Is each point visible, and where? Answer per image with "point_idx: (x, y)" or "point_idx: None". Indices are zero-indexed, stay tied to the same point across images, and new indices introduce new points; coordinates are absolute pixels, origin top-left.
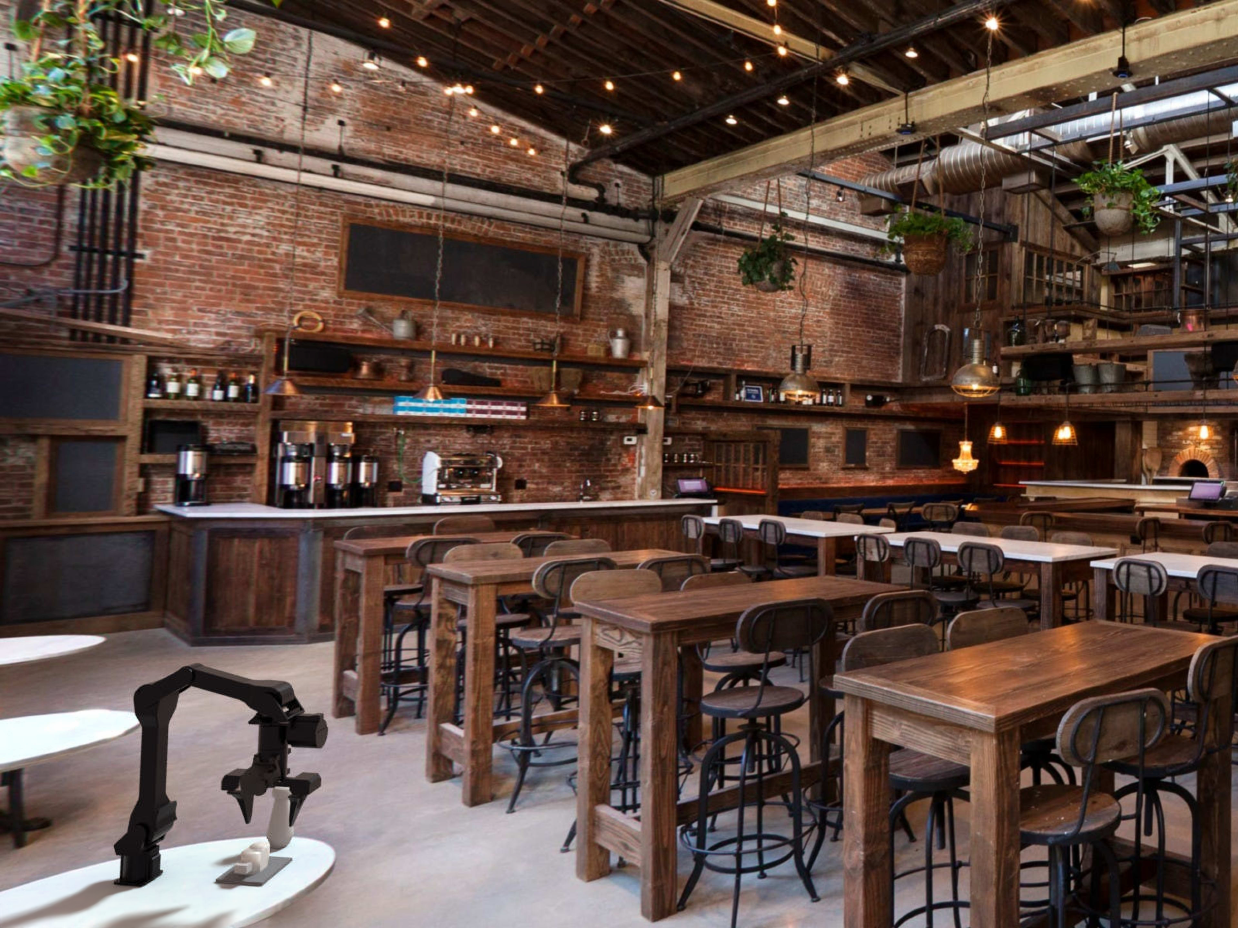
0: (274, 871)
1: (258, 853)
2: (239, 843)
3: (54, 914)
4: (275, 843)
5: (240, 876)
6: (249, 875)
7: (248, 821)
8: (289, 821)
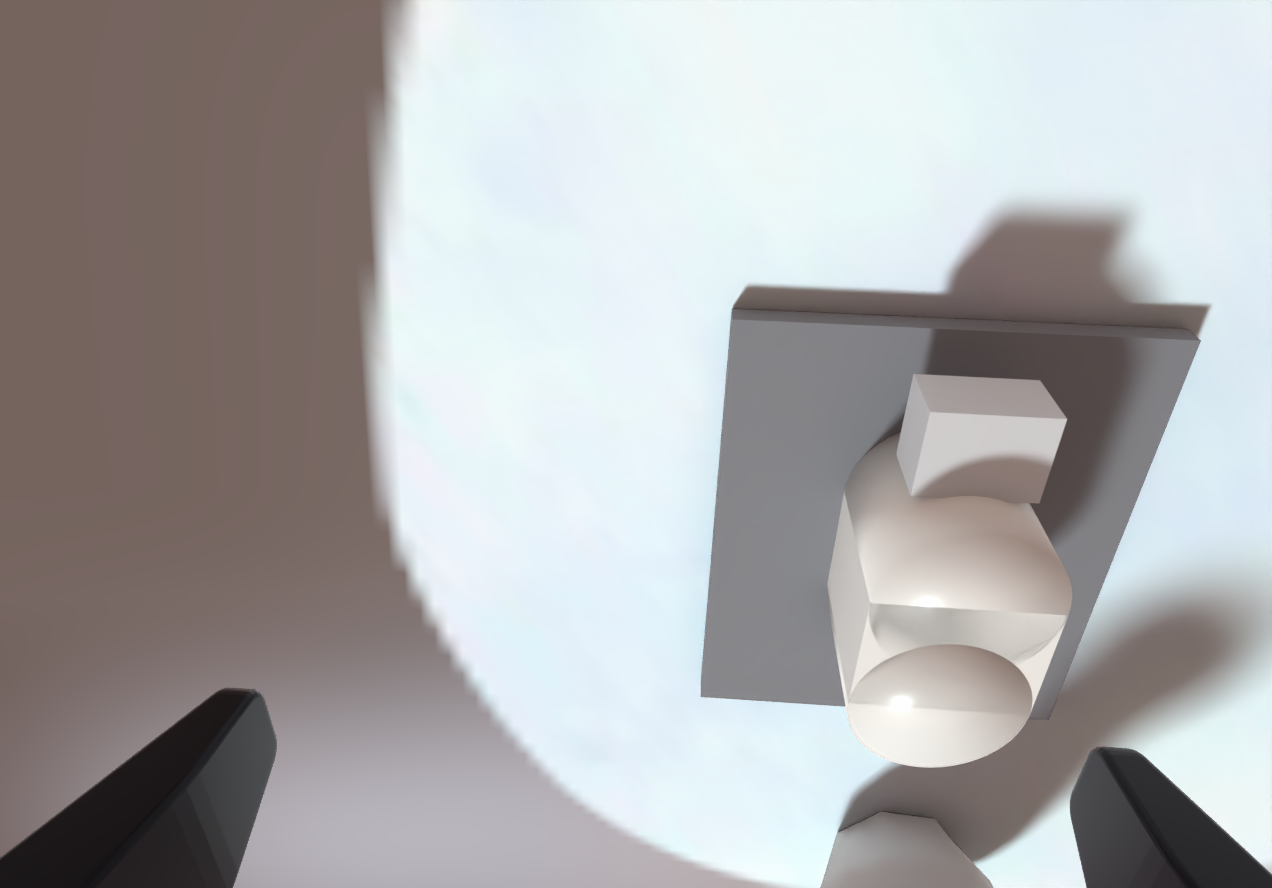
0: (727, 506)
1: (880, 577)
2: None
3: None
4: (904, 835)
5: None
6: None
7: (1102, 792)
8: (180, 756)
